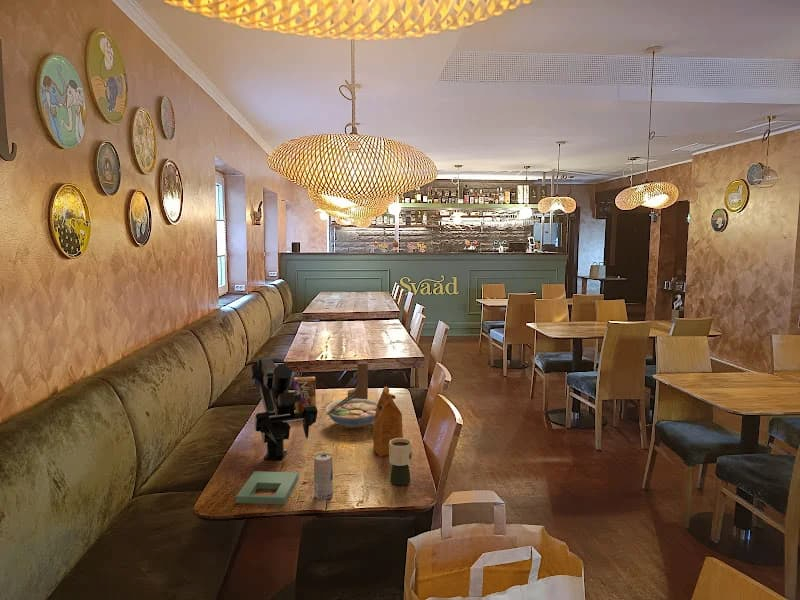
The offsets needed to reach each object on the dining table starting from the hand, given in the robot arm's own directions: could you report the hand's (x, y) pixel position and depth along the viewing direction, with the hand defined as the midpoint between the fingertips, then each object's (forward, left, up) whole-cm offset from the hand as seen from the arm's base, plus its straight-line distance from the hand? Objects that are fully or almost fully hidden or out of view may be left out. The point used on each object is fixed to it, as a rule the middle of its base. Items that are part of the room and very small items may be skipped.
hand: (292, 439), depth 160 cm
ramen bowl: (-54, +11, -16) cm, 57 cm away
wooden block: (-84, +8, -16) cm, 86 cm away
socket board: (+1, -7, -15) cm, 17 cm away
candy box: (-67, -12, -16) cm, 70 cm away
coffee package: (-31, +26, -16) cm, 43 cm away
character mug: (-7, +32, -16) cm, 36 cm away
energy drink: (+3, +10, -16) cm, 19 cm away
